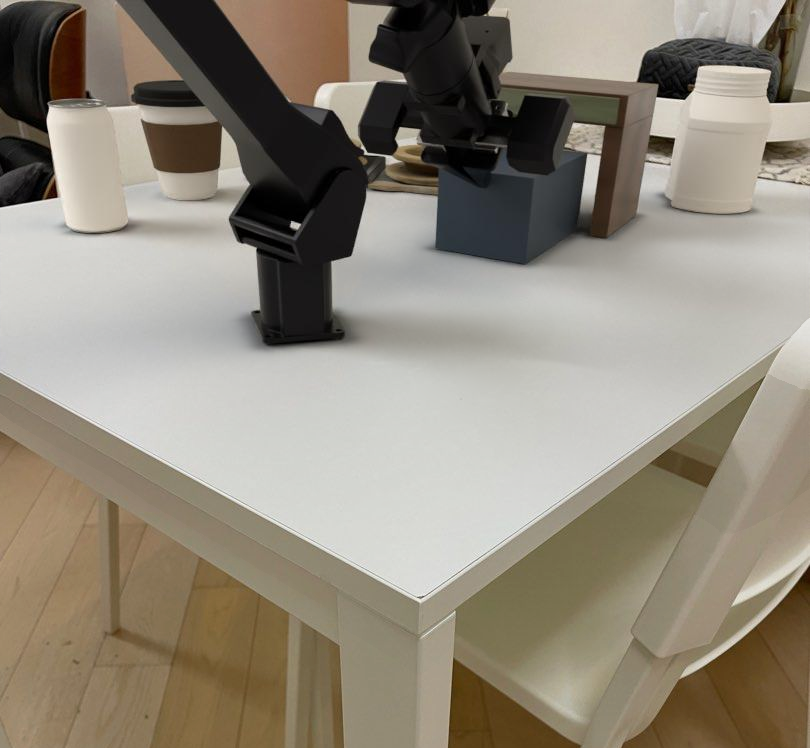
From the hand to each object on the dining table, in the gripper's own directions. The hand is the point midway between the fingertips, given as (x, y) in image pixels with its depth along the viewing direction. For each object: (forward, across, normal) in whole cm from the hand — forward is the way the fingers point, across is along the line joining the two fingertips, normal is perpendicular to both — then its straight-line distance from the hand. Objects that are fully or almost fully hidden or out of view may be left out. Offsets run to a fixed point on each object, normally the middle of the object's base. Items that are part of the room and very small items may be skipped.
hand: (484, 183), depth 82 cm
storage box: (+11, 0, -1) cm, 11 cm away
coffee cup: (+8, +41, +2) cm, 42 cm away
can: (-4, +40, +14) cm, 42 cm away
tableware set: (+26, +28, -15) cm, 41 cm away
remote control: (+23, +31, -14) cm, 41 cm away
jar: (+32, -15, -21) cm, 41 cm away
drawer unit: (+20, 0, -9) cm, 22 cm away
